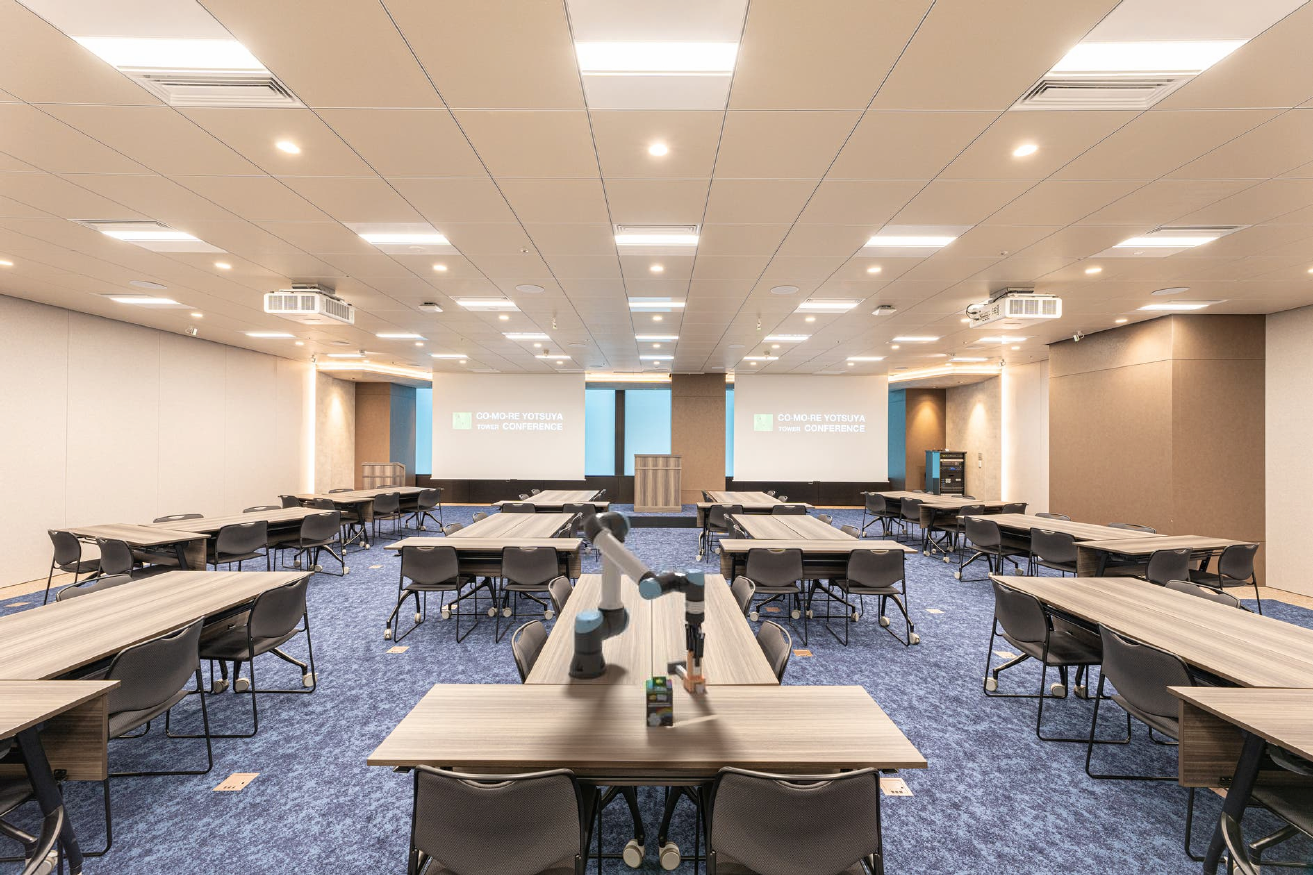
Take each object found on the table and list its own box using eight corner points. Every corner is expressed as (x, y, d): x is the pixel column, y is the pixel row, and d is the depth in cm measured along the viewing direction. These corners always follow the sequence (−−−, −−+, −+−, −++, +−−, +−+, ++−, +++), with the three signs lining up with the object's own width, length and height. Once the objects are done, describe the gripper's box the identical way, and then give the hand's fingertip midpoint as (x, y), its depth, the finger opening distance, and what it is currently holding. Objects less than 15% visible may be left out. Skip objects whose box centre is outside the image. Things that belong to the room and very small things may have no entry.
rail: (661, 673, 203) (661, 661, 204) (687, 668, 208) (688, 657, 208) (687, 700, 180) (687, 688, 180) (716, 695, 185) (716, 683, 185)
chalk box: (671, 712, 172) (672, 669, 173) (673, 726, 163) (674, 681, 163) (645, 712, 172) (645, 669, 172) (645, 726, 162) (646, 681, 163)
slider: (683, 685, 190) (683, 650, 191) (698, 682, 193) (698, 648, 193) (689, 691, 185) (690, 656, 185) (705, 689, 187) (705, 654, 188)
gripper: (677, 606, 196) (677, 666, 195) (695, 617, 181) (694, 682, 180) (694, 604, 199) (694, 663, 198) (713, 615, 184) (712, 679, 183)
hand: (694, 672), depth 189 cm, fingers closed on slider, 2 cm apart
